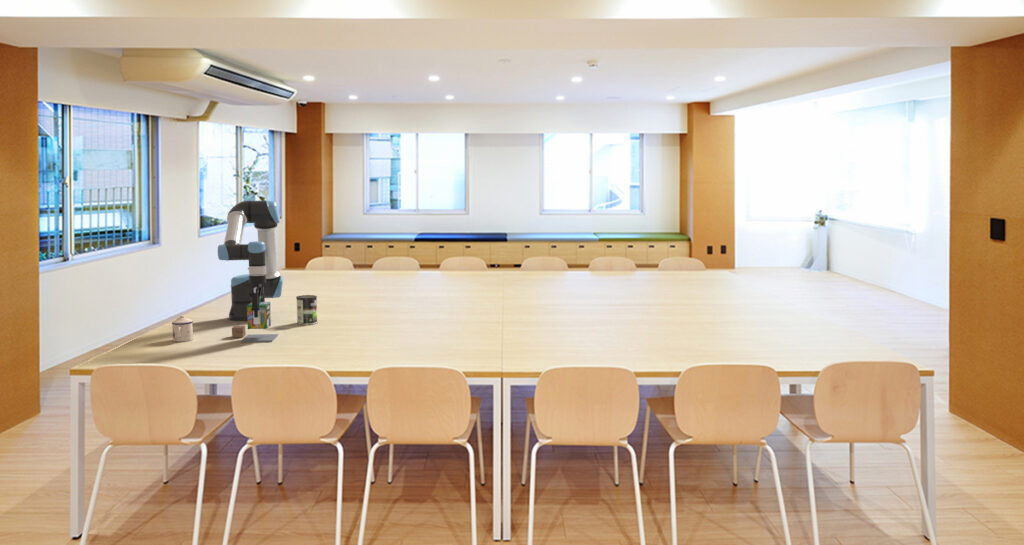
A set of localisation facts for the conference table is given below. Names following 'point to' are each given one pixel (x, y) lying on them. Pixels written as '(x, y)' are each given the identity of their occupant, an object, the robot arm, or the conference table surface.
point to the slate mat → (259, 338)
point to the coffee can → (306, 309)
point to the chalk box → (264, 316)
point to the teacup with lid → (182, 329)
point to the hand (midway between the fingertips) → (259, 322)
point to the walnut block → (238, 331)
